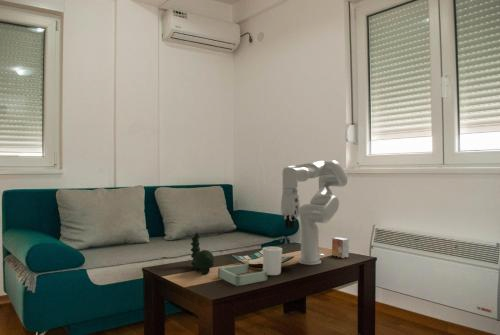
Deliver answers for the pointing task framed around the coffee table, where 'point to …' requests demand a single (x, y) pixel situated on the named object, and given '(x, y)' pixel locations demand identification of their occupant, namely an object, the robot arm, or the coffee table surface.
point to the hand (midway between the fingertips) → (289, 227)
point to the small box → (340, 247)
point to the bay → (232, 277)
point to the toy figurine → (201, 256)
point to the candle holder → (272, 260)
